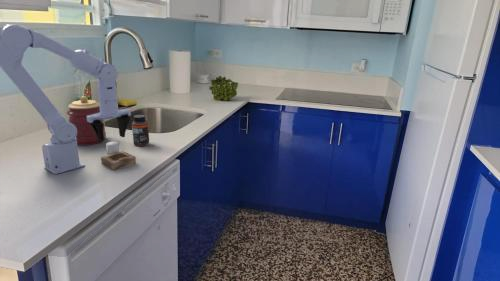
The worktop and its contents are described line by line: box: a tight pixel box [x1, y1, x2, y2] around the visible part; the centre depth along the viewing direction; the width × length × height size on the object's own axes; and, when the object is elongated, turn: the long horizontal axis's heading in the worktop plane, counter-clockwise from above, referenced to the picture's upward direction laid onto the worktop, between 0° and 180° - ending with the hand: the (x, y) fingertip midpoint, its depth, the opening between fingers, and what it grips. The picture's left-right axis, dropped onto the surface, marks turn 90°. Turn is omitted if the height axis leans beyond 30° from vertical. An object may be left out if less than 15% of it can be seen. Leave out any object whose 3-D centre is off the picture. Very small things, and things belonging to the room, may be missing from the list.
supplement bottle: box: [131, 114, 150, 147], centre depth 131 cm, size 6×6×11 cm
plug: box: [105, 141, 120, 155], centre depth 118 cm, size 4×4×5 cm
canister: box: [66, 95, 107, 146], centre depth 132 cm, size 13×13×18 cm
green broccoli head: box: [209, 75, 239, 101], centre depth 217 cm, size 18×16×16 cm
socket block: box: [100, 150, 137, 171], centre depth 113 cm, size 8×8×3 cm
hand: (112, 138), depth 117 cm, fingers open, 7 cm apart
